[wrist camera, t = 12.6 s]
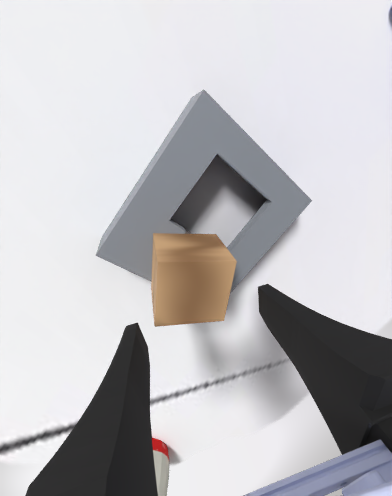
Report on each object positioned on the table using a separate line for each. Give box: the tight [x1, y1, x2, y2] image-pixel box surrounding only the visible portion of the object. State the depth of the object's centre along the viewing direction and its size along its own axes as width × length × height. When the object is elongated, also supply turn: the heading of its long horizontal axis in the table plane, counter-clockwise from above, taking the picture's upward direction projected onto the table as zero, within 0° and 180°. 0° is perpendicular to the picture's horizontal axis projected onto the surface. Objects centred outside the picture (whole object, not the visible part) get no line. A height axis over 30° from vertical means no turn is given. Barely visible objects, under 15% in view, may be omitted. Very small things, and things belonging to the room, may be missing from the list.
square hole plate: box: [96, 90, 312, 293], centre depth 19 cm, size 12×13×3 cm
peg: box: [151, 230, 237, 327], centre depth 18 cm, size 5×5×8 cm
